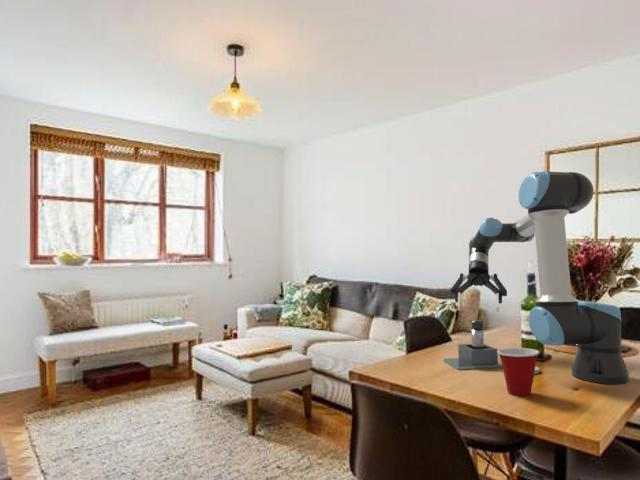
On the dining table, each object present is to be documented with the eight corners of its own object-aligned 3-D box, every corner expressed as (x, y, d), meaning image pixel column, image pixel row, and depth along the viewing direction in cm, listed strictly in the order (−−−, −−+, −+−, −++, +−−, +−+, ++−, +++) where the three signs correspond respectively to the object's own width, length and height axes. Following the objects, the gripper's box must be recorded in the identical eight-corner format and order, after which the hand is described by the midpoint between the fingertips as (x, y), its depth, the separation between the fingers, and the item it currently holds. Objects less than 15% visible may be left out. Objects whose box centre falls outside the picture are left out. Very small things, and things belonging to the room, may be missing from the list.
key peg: (486, 362, 156) (485, 321, 156) (475, 362, 155) (474, 321, 155) (480, 359, 160) (479, 319, 160) (469, 360, 159) (469, 320, 159)
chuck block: (502, 367, 153) (502, 349, 153) (458, 369, 150) (457, 351, 150) (485, 359, 164) (485, 342, 164) (443, 361, 161) (443, 344, 161)
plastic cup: (507, 384, 134) (507, 343, 134) (546, 393, 126) (545, 349, 126) (490, 392, 127) (489, 349, 127) (529, 402, 119) (529, 356, 119)
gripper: (512, 272, 180) (514, 316, 166) (447, 272, 189) (444, 313, 175) (512, 259, 175) (514, 303, 161) (445, 260, 184) (442, 301, 170)
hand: (478, 309), depth 168 cm, fingers open, 13 cm apart
